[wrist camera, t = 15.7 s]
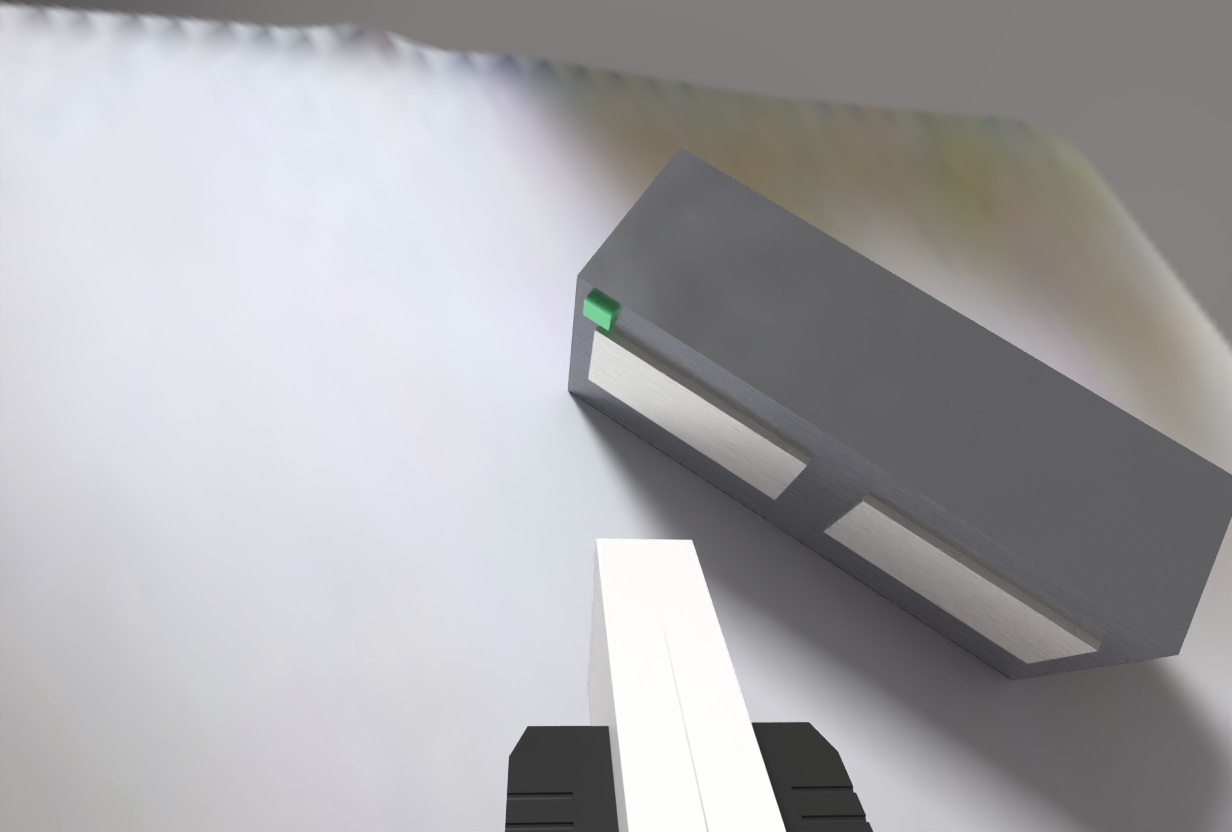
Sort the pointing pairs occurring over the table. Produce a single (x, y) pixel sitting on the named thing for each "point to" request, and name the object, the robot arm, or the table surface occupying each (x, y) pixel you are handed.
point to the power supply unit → (893, 432)
